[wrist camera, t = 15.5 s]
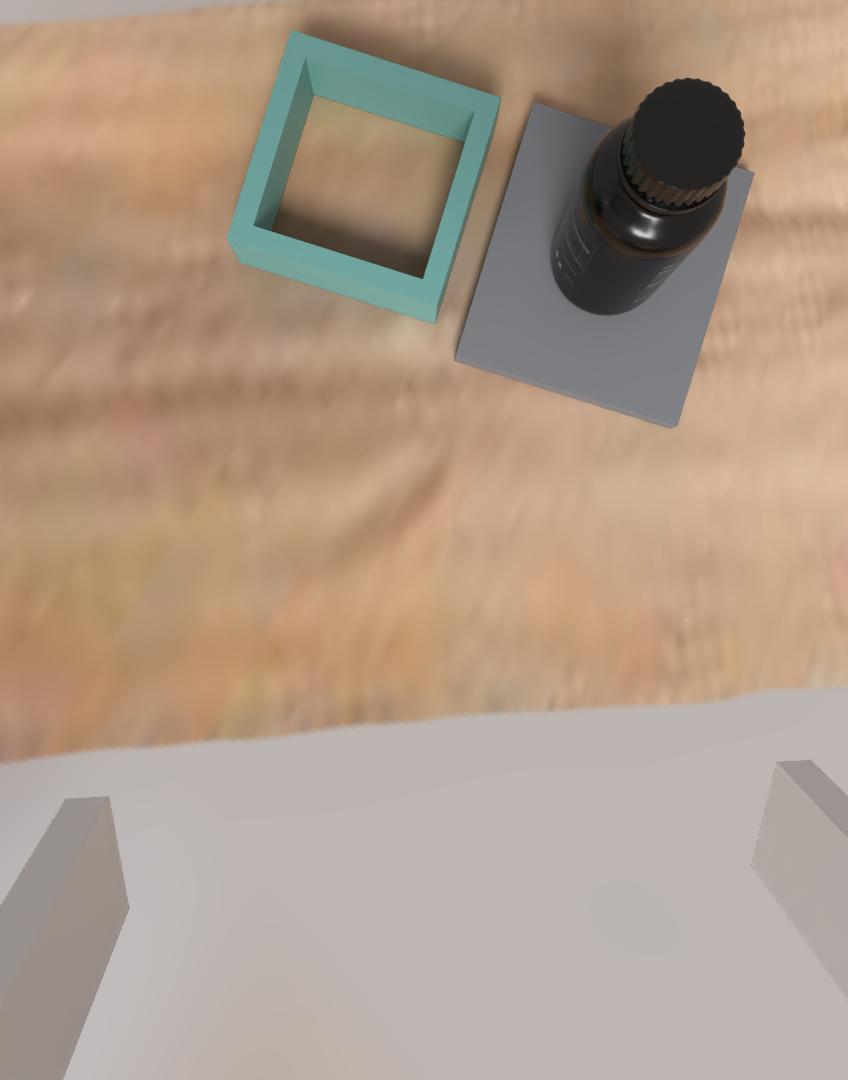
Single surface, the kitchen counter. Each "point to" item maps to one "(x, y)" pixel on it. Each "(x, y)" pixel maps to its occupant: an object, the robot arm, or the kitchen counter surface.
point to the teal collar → (384, 94)
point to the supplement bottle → (647, 197)
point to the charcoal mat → (562, 328)
